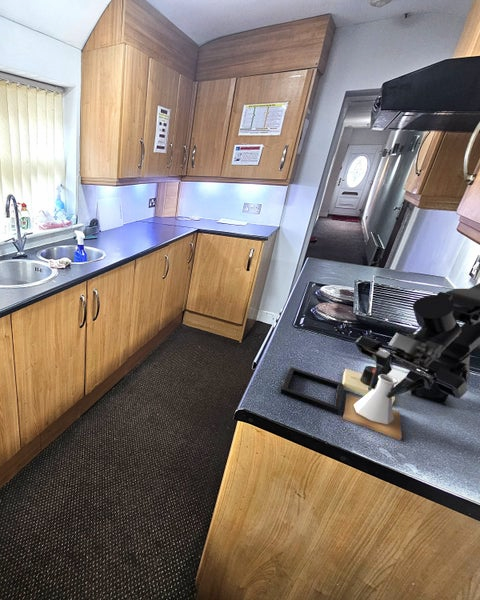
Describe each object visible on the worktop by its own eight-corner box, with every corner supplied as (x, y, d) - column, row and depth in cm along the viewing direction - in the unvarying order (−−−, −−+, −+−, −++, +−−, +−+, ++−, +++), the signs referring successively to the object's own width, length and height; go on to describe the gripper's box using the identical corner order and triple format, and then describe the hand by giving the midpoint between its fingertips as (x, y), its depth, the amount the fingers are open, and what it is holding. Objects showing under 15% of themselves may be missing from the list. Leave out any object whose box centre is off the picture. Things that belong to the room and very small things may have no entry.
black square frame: (342, 388, 86) (344, 384, 85) (338, 415, 77) (340, 410, 76) (288, 370, 93) (289, 366, 92) (279, 393, 84) (281, 388, 84)
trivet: (398, 414, 77) (399, 411, 77) (400, 440, 70) (401, 437, 70) (345, 396, 83) (346, 393, 83) (342, 418, 76) (343, 416, 76)
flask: (351, 413, 76) (365, 379, 72) (355, 398, 81) (368, 364, 77) (392, 429, 72) (410, 393, 68) (393, 412, 76) (410, 377, 72)
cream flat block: (390, 389, 86) (393, 382, 85) (391, 405, 80) (395, 398, 79) (343, 374, 91) (345, 368, 90) (341, 388, 86) (344, 382, 85)
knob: (360, 376, 87) (365, 363, 85) (377, 382, 85) (383, 368, 83) (359, 383, 85) (365, 369, 83) (377, 388, 82) (384, 375, 81)
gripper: (373, 304, 76) (327, 354, 77) (487, 344, 60) (426, 406, 61) (383, 328, 82) (339, 374, 83) (489, 369, 66) (433, 426, 67)
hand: (378, 392), depth 73 cm, fingers closed on flask, 3 cm apart
